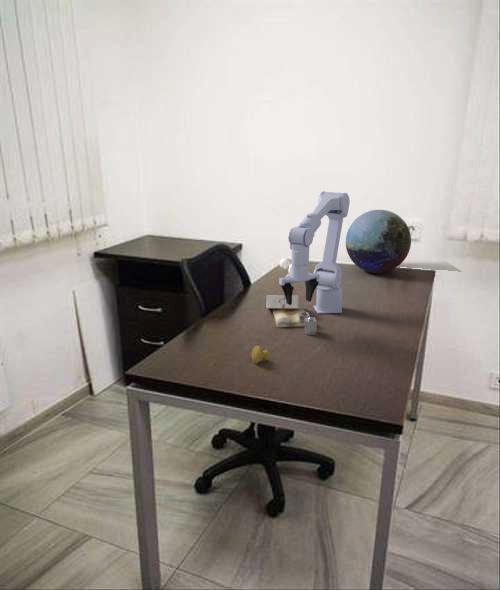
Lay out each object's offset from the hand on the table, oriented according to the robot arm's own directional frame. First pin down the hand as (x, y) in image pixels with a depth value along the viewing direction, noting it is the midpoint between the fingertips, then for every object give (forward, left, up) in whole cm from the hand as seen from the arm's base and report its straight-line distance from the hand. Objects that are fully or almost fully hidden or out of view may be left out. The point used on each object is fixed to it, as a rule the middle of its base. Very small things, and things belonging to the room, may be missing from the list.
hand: (298, 302), depth 157 cm
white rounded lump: (-9, -61, -10) cm, 62 cm away
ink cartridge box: (+9, -18, -6) cm, 21 cm away
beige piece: (+1, -8, -10) cm, 13 cm away
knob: (+15, +23, -10) cm, 30 cm away
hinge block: (-4, +4, -10) cm, 11 cm away
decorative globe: (-50, -66, -10) cm, 83 cm away
